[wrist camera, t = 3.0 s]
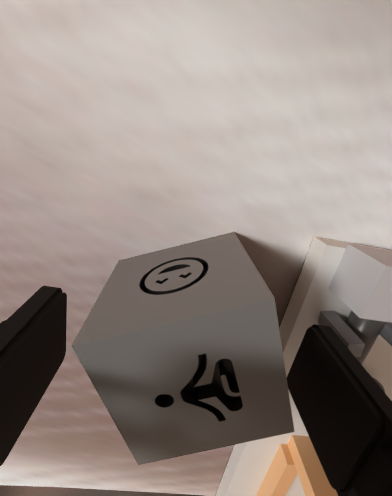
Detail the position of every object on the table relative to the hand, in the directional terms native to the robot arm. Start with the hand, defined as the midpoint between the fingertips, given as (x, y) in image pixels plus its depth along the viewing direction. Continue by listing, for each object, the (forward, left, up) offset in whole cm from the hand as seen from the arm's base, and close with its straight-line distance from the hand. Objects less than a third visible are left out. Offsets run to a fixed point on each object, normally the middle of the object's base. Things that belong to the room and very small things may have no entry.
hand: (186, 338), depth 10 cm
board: (+6, +11, -2) cm, 12 cm away
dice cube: (-1, 0, -2) cm, 2 cm away
